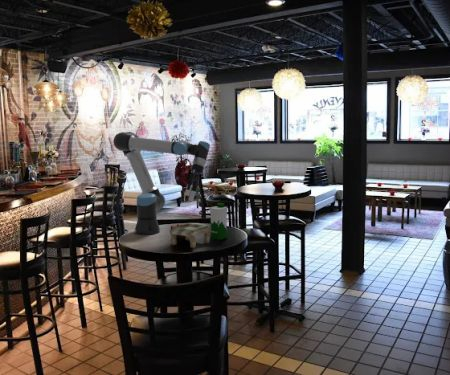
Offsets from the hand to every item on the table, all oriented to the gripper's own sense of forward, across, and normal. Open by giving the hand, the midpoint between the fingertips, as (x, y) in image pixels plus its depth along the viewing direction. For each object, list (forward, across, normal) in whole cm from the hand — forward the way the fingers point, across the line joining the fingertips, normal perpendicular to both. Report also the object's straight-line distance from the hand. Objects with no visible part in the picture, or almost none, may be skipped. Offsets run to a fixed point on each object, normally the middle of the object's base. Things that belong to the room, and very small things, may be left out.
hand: (188, 198), depth 278 cm
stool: (+28, -16, -12) cm, 34 cm away
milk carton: (+20, -4, -25) cm, 32 cm away
